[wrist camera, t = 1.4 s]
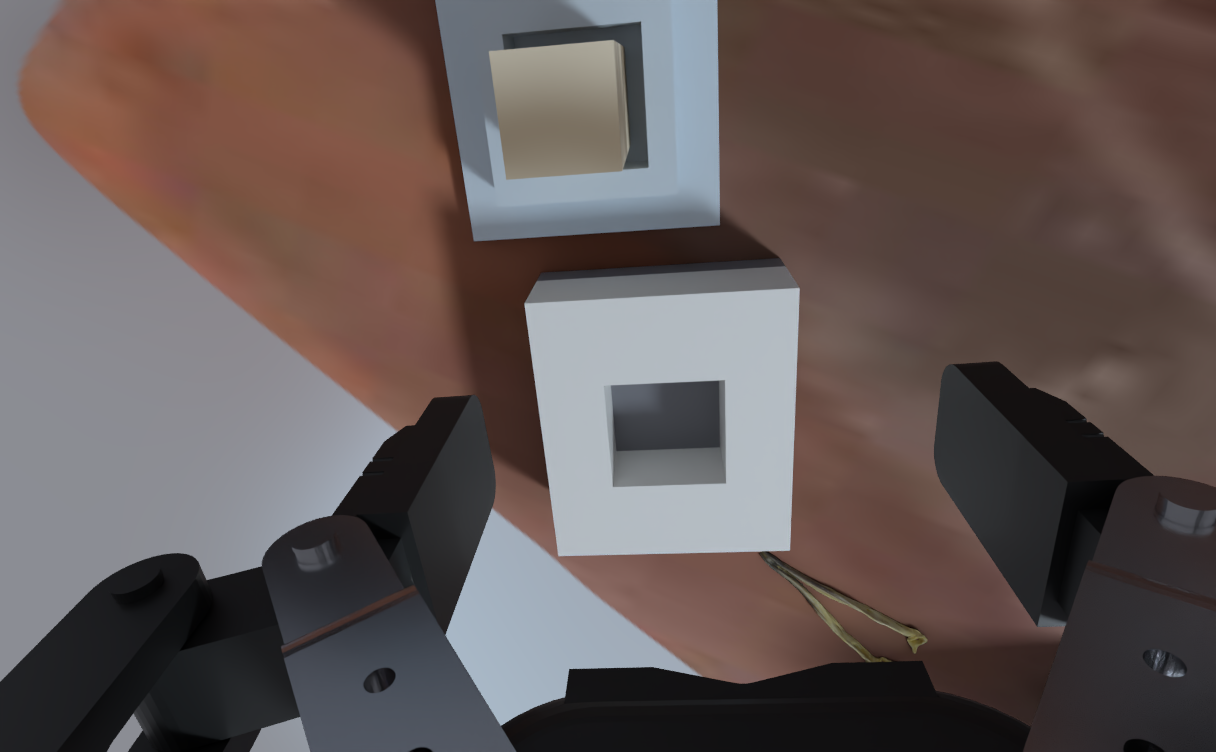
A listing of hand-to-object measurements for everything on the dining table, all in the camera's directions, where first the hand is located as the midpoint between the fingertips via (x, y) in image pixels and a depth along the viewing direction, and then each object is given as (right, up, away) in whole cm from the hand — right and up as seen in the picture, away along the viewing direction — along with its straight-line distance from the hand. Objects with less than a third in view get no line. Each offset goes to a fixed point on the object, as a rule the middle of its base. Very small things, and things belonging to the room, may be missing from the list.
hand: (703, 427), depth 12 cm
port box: (+1, 0, +25) cm, 25 cm away
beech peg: (-3, +13, +19) cm, 23 cm away
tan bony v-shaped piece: (+12, -13, +32) cm, 36 cm away
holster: (-3, +14, +19) cm, 24 cm away
